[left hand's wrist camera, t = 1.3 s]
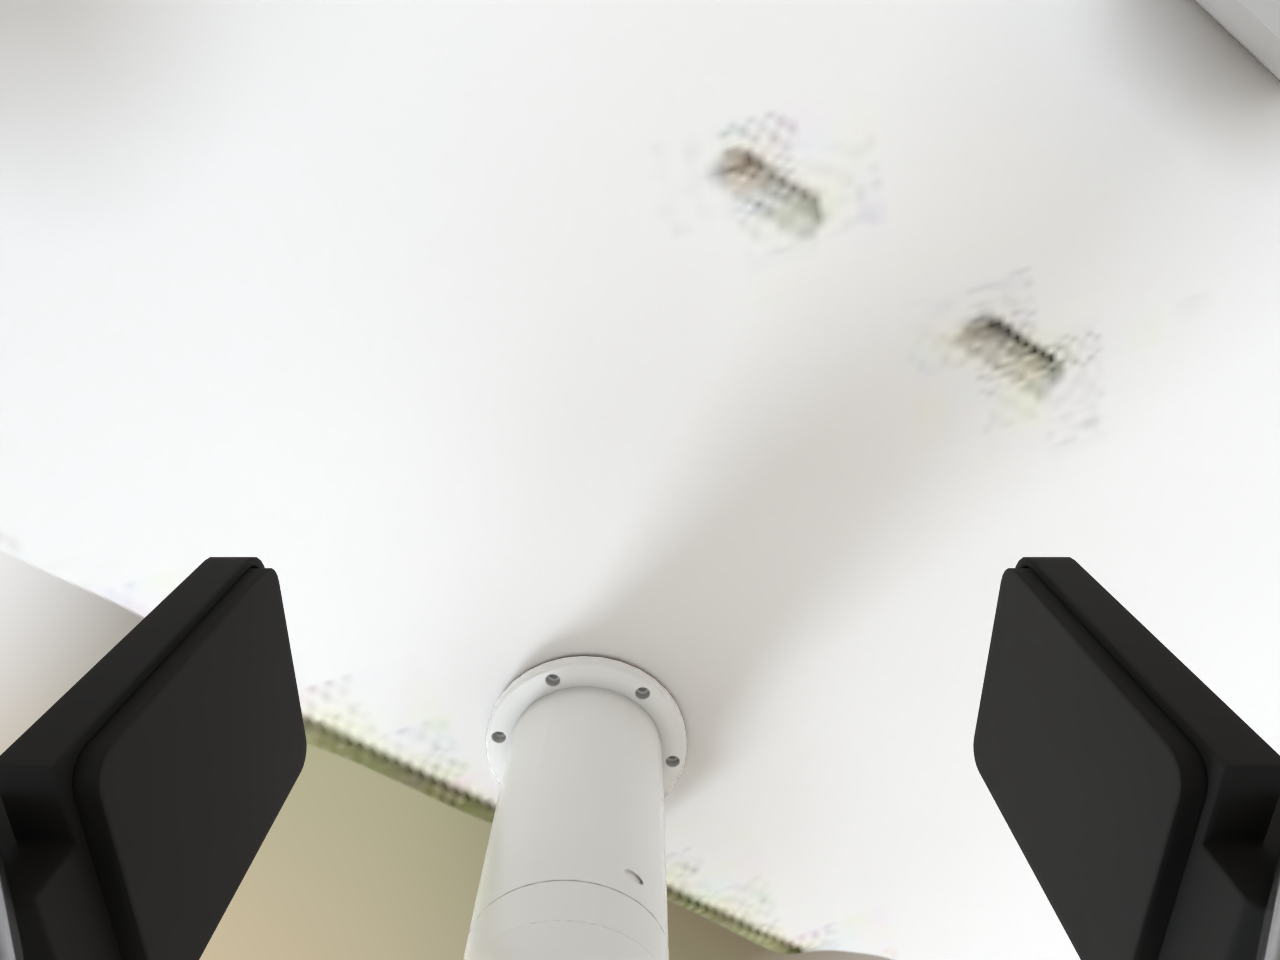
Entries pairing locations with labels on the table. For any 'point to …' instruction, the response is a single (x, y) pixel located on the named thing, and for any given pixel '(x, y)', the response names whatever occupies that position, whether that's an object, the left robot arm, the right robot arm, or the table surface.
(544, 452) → the table surface
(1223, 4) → the grey pyramid cube
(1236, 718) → the left robot arm
